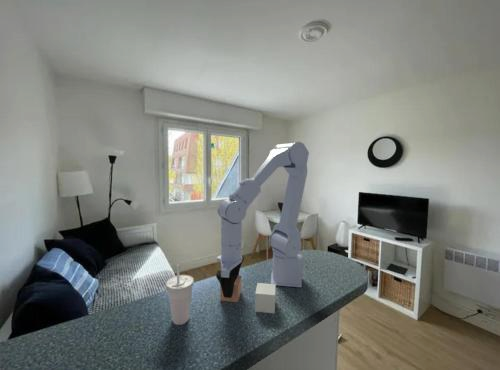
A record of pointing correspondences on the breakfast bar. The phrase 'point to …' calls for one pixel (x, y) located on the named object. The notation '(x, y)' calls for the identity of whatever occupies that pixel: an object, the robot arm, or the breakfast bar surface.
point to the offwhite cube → (265, 298)
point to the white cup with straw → (180, 296)
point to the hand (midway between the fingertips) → (230, 288)
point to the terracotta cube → (236, 291)
